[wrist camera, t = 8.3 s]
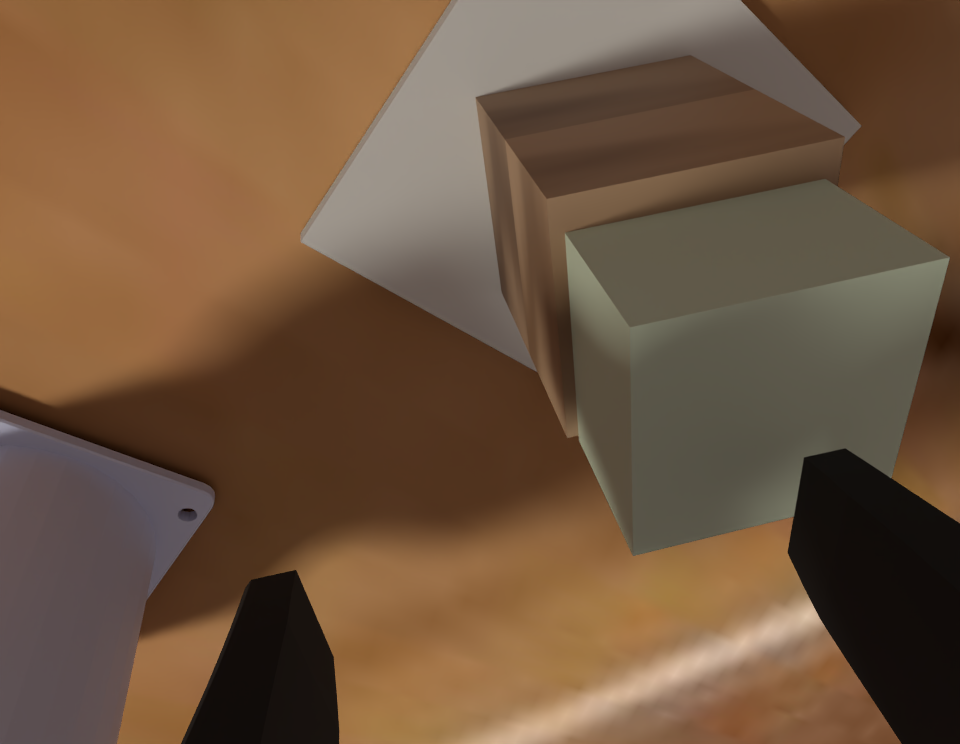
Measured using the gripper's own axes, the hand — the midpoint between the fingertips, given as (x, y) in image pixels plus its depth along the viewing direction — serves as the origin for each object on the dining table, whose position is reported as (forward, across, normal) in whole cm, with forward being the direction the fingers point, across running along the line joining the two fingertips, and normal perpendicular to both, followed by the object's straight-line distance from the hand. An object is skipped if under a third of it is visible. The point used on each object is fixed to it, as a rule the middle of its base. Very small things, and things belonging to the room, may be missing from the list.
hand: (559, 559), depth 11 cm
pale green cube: (+4, -4, -1) cm, 5 cm away
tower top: (+7, -4, -1) cm, 8 cm away
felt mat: (+10, -3, -1) cm, 11 cm away
